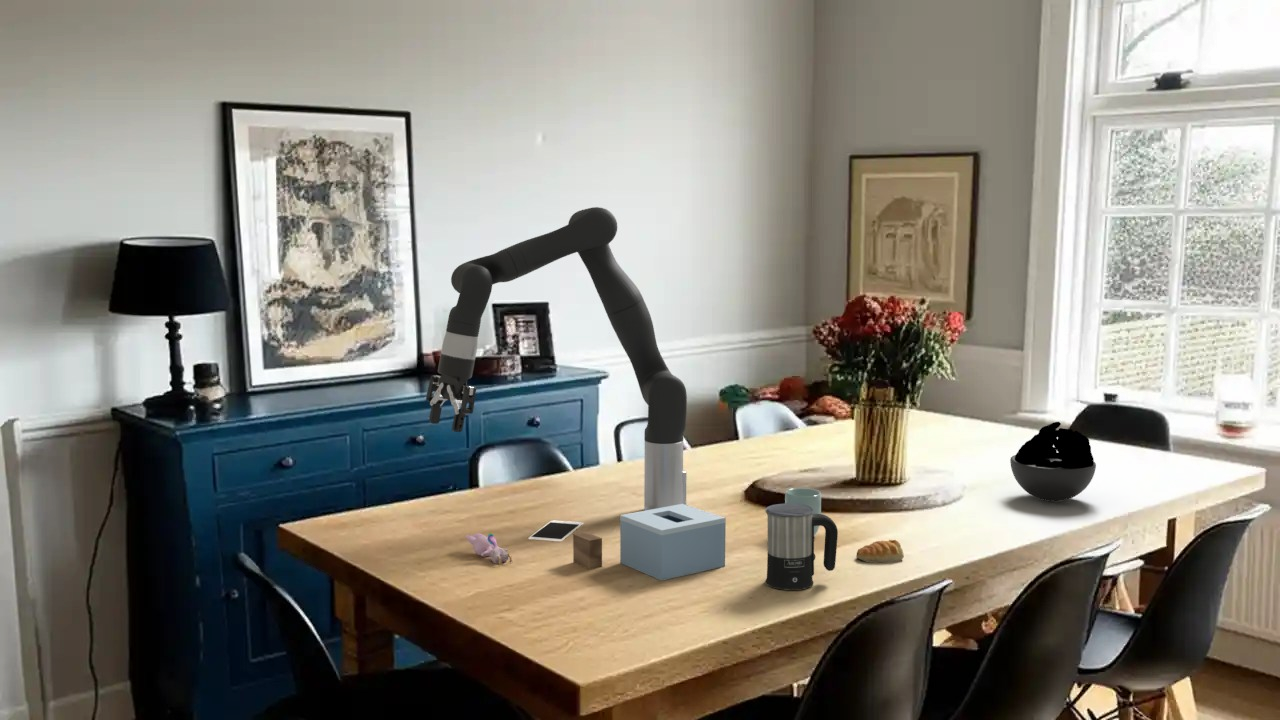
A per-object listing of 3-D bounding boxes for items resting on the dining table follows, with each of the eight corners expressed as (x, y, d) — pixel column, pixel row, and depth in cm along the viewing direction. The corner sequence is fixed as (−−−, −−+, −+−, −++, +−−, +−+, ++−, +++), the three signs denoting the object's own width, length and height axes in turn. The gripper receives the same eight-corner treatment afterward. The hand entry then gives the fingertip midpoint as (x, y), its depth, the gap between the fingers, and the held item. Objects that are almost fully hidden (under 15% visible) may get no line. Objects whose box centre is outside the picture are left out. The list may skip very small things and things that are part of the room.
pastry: (866, 566, 237) (866, 547, 237) (849, 557, 244) (850, 539, 243) (906, 561, 240) (906, 543, 240) (889, 553, 247) (889, 535, 246)
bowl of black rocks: (1067, 515, 277) (1071, 436, 275) (992, 499, 292) (995, 425, 289) (1109, 501, 290) (1113, 426, 288) (1035, 487, 305) (1038, 415, 303)
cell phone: (584, 525, 269) (584, 522, 269) (560, 544, 253) (560, 541, 253) (552, 522, 271) (552, 519, 271) (527, 541, 255) (526, 538, 255)
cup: (823, 533, 261) (824, 489, 259) (816, 542, 253) (817, 497, 252) (788, 530, 263) (789, 486, 262) (781, 539, 256) (782, 494, 255)
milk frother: (779, 594, 219) (781, 516, 218) (739, 570, 234) (740, 497, 232) (844, 584, 225) (846, 509, 223) (801, 562, 239) (802, 491, 238)
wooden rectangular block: (585, 560, 241) (585, 531, 240) (602, 567, 236) (601, 538, 235) (573, 562, 239) (573, 533, 238) (589, 569, 234) (589, 540, 233)
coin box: (682, 549, 248) (682, 503, 246) (725, 566, 236) (725, 517, 235) (620, 562, 238) (620, 515, 237) (661, 580, 227) (661, 530, 226)
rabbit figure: (518, 568, 239) (481, 541, 251) (520, 541, 238) (483, 515, 249) (492, 574, 235) (455, 546, 247) (494, 547, 234) (457, 519, 245)
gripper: (491, 361, 253) (478, 435, 254) (453, 350, 263) (440, 421, 264) (463, 358, 247) (450, 433, 248) (425, 347, 257) (412, 419, 258)
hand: (445, 427), depth 256 cm, fingers open, 8 cm apart
